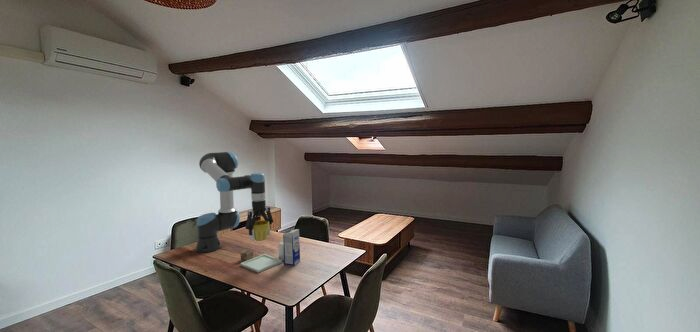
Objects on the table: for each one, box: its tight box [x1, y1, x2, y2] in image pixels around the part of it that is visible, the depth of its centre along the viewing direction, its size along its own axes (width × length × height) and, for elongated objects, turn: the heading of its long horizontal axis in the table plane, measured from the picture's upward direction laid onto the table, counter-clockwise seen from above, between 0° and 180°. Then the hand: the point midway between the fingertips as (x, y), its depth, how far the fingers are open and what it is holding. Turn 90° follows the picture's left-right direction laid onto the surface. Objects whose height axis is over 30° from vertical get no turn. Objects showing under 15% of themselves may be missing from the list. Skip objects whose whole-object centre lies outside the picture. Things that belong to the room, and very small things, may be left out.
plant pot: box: [253, 219, 269, 242], centre depth 168 cm, size 10×10×10 cm
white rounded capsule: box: [277, 241, 284, 261], centre depth 178 cm, size 7×7×9 cm
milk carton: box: [282, 228, 301, 267], centre depth 169 cm, size 7×7×20 cm
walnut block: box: [240, 249, 254, 262], centre depth 177 cm, size 5×5×5 cm
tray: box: [240, 253, 283, 274], centre depth 170 cm, size 17×17×2 cm
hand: (260, 237), depth 168 cm, fingers closed on plant pot, 10 cm apart
